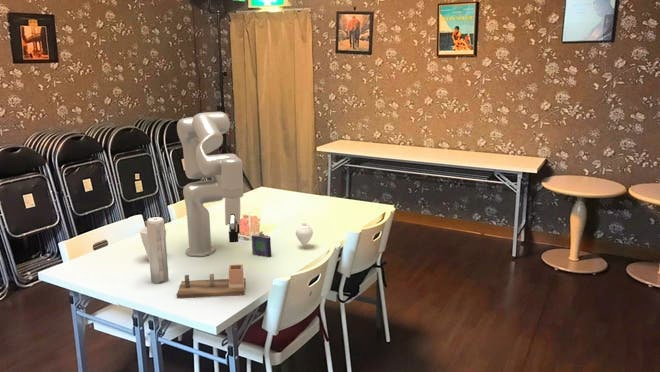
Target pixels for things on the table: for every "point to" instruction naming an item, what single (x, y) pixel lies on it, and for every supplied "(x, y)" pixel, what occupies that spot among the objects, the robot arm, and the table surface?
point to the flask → (261, 245)
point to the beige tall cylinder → (157, 250)
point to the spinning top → (304, 233)
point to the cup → (146, 239)
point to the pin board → (208, 288)
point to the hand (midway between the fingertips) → (234, 237)
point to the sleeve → (236, 276)
